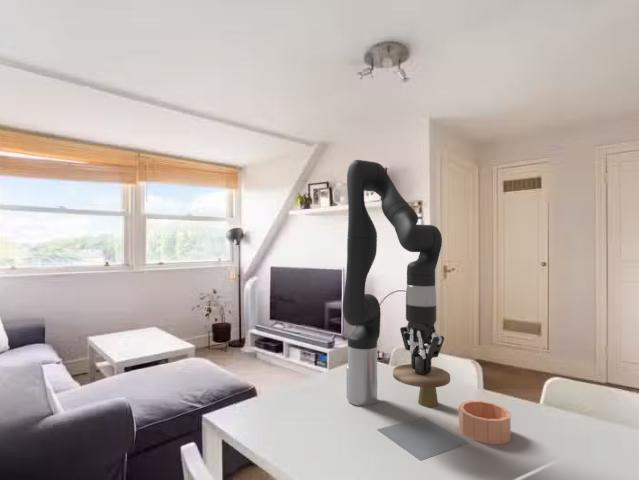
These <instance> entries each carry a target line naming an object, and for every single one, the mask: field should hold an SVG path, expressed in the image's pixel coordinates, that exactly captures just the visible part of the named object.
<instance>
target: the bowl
mask: <svg viewBox="0 0 639 480" xmlns="http://www.w3.org/2000/svg"><path fill="white" fill-rule="evenodd" d="M511 414H512V413H511V411H509V410H508V408H506V407H504V406H502V405H499V404H497V403H494V402H491V401H485V400H470V399H469V400H465V401H463V402H461V403H460V404H459V405H458V429H459V430H460V432H461V433H462V434H463V436H465V437H467V438H469V439H471V440H473V441H475V442H478V443H482V444H483V443H484V444H487V445H502V444H505V443H509V442H510V441H511V437H512V415H511Z"/></svg>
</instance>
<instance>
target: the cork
mask: <svg viewBox="0 0 639 480" xmlns="http://www.w3.org/2000/svg"><path fill="white" fill-rule="evenodd" d="M418 392H419V393H418V398H417V399H418V400H417V403H418V405H420V406H421V407H425V408H436V407H438V406H439V401H438V393H437V387H430V388H428V387H419V391H418Z"/></svg>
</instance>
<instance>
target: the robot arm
mask: <svg viewBox="0 0 639 480" xmlns="http://www.w3.org/2000/svg"><path fill="white" fill-rule="evenodd" d="M346 187H347V188H346V189H347V203H348V204H347V206H348V208H347V209H348V210H347V211H348V214H347V215H348V217H347V218H348V220H347V221H348V225H347V240H346V241H347V242H346V245H347V246H346V248H347V249H346V250H347V251H346V252H347V253H346V255H347V257H346V275H345V286H344V293H343V300H342V301H343V302H342V314H343V318H344V320H345V321H346V323H347V324H348V325H349V326H352V327H355V328H354V329H353V331H352V332H351V333H350V334H349V335H348V337H347V367H346V398H347V401H348V402H349V403H350V404H352V405H355V406H357V407H359V406H360V407H364V406H371V405H374V404H376V403H378V341H379V338H380V333H381V329H380V328H381V317H382V316H381V315H382V314H381V313H382V312H381V305H380V302H379V300H378V299H377V297H376V296H375V295H374V294H371V293H366V281H367V277H368V275H369V273H370V270H371V268H372V266H373V264H374V262H375V259H376V257H377V251H378V250H377V247H378V246H377V245H378V232H377V228H376V227H375V224H374V222H373V220H372V218H371V216H370V215H369V213H368V209H367V207H366V204H365V203H366V202H365V192H374V193H375V194H377V195H378V196H379V197H380V198H381V210H382V213H383V215H384V216H385V218H386V219H387V220H388V222H389V223H390V224H391V225H392V226H393V228H394V232H395V233H396V235H397V239H398V242H399V244H400V246H401V247H402V248H403V249H404V250H406V251H408V252H411V253H419V254H418V257H417V259H416V260H414V261H411V262H409V263H408V264H407V266H406V290H405V291H406V292H405V320H406V321H407V325H405V326H402V327H400V328H399V330H400V333H401V337H402V341H403V345H404V349H405V351H408V352H409V354H410V357H411V358H410V360H411V361H410V364H411V365H412V369H414V370H415V356H418V355H421V356H422V373H424V374H427V373H430V371H431V366H432V359H433V358H437V357H439V354H440V352H441V349H442V346H443V344H444V341H445V336H443V335H438V334H437V332H436V328H435V324H436V322H437V288H436V270H437V269H436V268H437V264H438V262H439V261H438V260H439V257H440V255H441V254H440V253H441V250H442V245H443V237H442V233H441V231H440V229H439V228H438V227H436V226H435V225H433V224H418V223H419V222H418V221H419V216H418V213H417V212H416V211H415V209H414V208H413V207H412V206H411V205H410V204H409V203H408V202H407V201H406V200H405V198H403V196H402V195H401V194H400V192H399V191H398V189H397V188H396V186H395V183H394V182H393V180H392V179H391V177H390V176H389V174H388V172H387V170H386V169H385V168H384V166H383V165H381V164H380V162H379V163H378V162H377V161H371V160H362V159H354V160H352V161H351V162H350V163H349V165H348V169H347V174H346ZM420 352H421V354H420Z"/></svg>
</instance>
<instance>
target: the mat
mask: <svg viewBox="0 0 639 480" xmlns="http://www.w3.org/2000/svg"><path fill="white" fill-rule="evenodd" d="M376 431H378V432H379V433H380V434H382V435H383V436H385V437H387V438H388V439H389V440H390V441H392V442H393V443H395V444H396V445H397V446H399V447H400V448H402V449H403V450H404V451H405V452H408V453H409V454H411V456H413V457H414V458H416V459H417V460H419V461H420V462H421V461H424V460H427V459H428V458H432V457H435V456H438V455H441V454H443V453H446V452H449V451H452V450H454V449H456V448H460V447H462V446H466V445H468V444H470V442H469V441H467V440H466V439H464V438H462V437H461V436H460V435H456V434H455V433H453V432H452V431H449V430H448V429H446V428H445V427H443V426H440V425H439V424H437V423H435V422H433V421H432V420H430V419H428V418H426V417H424V416H419V417H416V418H413V419H409V420H406V421H402V422H398V423H395V424H391V425H388V426H385V427H381V428H378V429H376Z"/></svg>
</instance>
